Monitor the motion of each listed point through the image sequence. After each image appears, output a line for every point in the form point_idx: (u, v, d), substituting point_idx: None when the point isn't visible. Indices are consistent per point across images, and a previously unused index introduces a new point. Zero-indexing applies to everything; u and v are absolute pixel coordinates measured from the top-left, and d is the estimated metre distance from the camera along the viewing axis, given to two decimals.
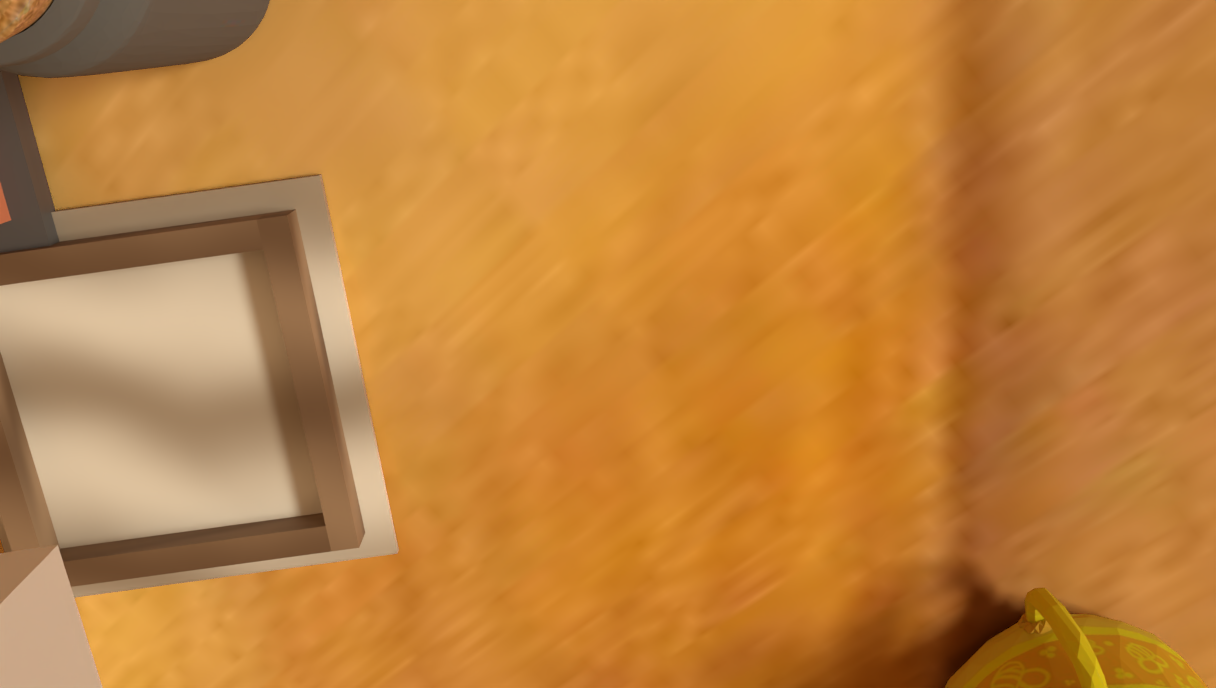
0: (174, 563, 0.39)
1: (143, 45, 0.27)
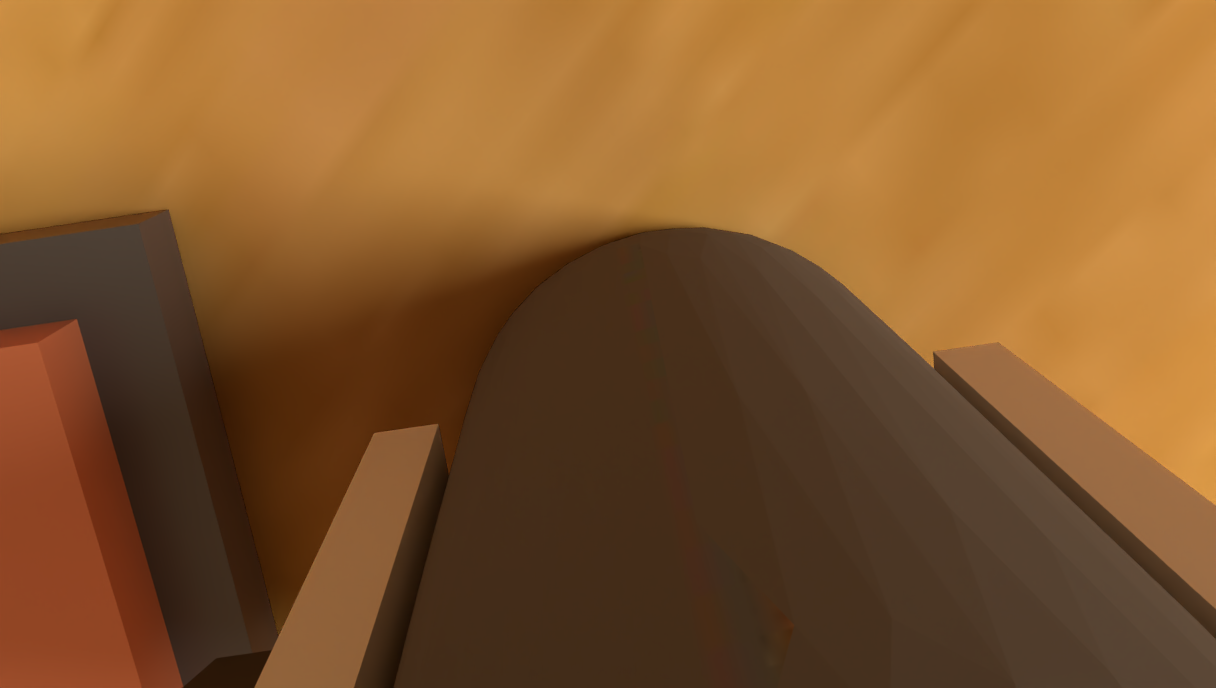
0: None
1: None
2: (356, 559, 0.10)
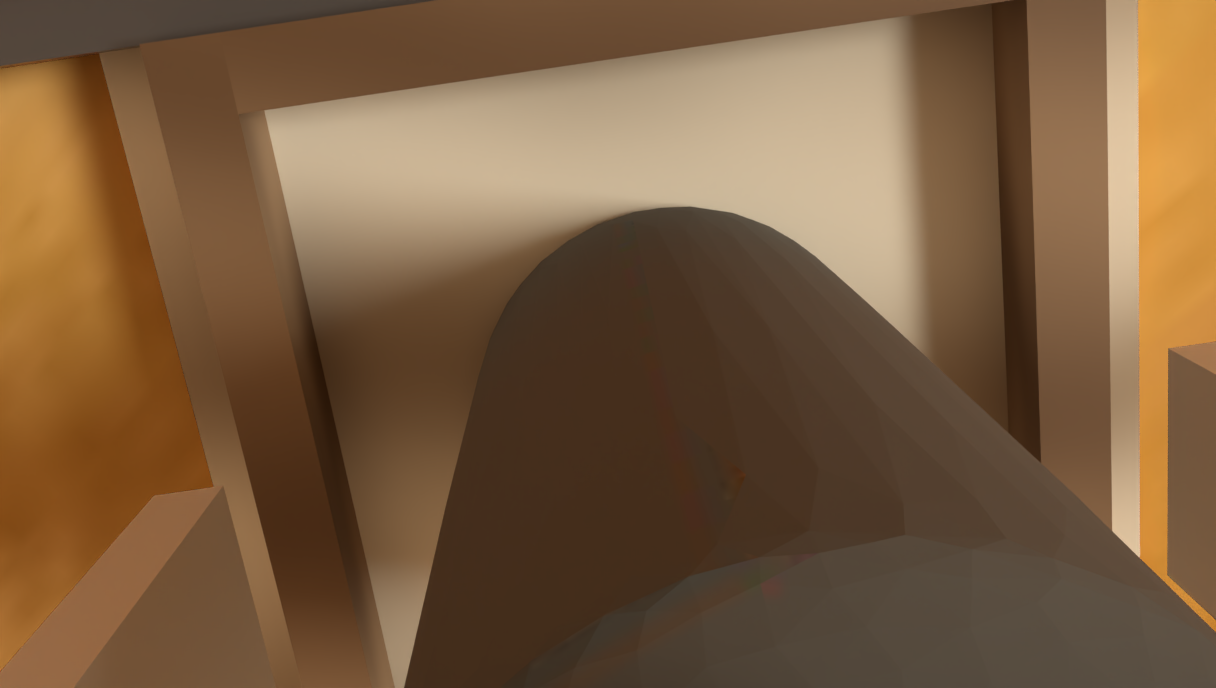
0: None
1: None
2: (56, 657, 0.09)
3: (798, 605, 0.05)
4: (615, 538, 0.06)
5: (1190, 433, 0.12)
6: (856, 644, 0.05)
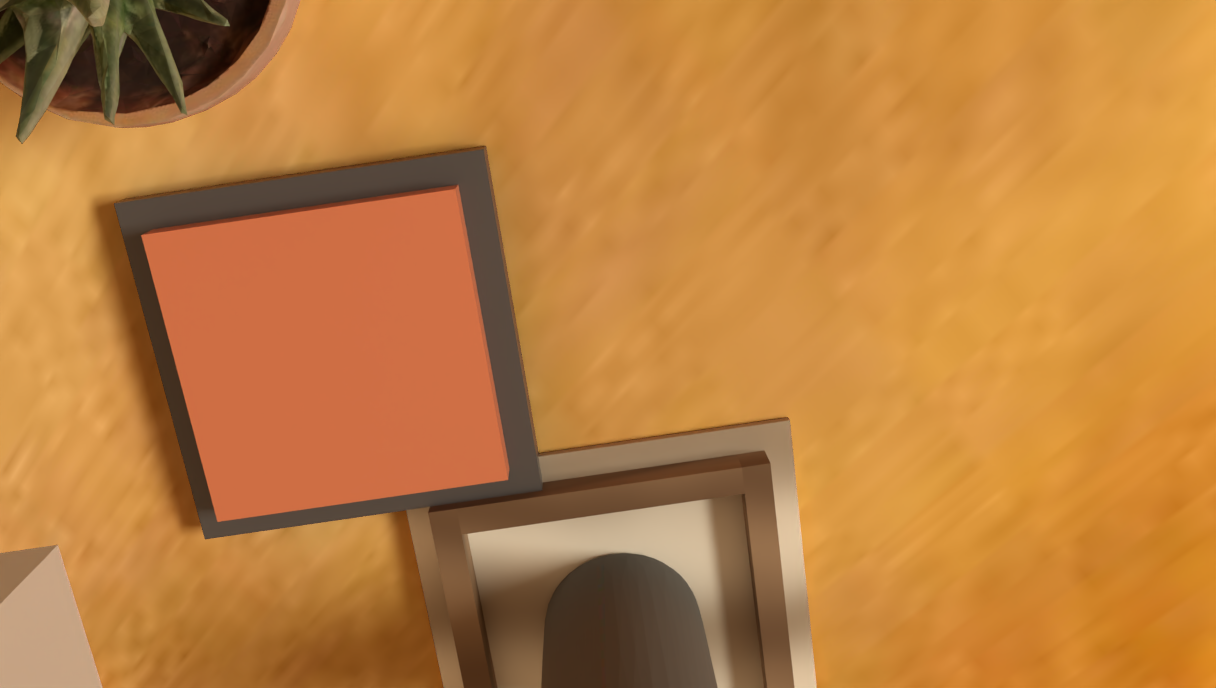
0: None
1: None
2: None
3: None
4: None
5: None
6: None
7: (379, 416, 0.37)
